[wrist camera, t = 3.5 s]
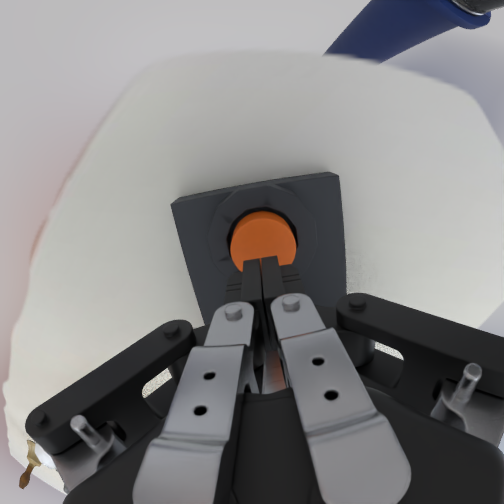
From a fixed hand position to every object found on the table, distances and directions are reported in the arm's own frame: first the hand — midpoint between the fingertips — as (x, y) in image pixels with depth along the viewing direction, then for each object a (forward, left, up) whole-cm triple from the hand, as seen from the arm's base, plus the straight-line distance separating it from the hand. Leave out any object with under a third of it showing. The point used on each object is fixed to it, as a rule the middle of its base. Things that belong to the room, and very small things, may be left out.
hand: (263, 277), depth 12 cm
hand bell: (+49, -69, -9) cm, 85 cm away
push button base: (+5, 0, -8) cm, 10 cm away
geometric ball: (+38, -51, -9) cm, 64 cm away
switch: (0, 0, -5) cm, 5 cm away
